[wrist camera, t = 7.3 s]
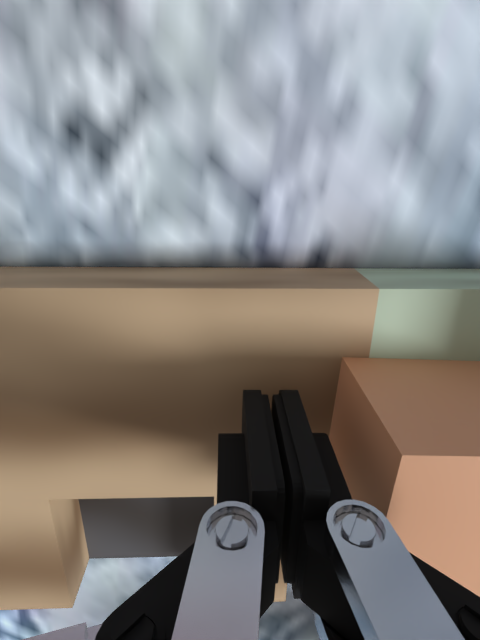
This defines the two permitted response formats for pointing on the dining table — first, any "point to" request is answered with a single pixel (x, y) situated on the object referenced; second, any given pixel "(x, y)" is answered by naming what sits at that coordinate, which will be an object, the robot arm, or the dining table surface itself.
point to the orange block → (415, 454)
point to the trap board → (175, 392)
